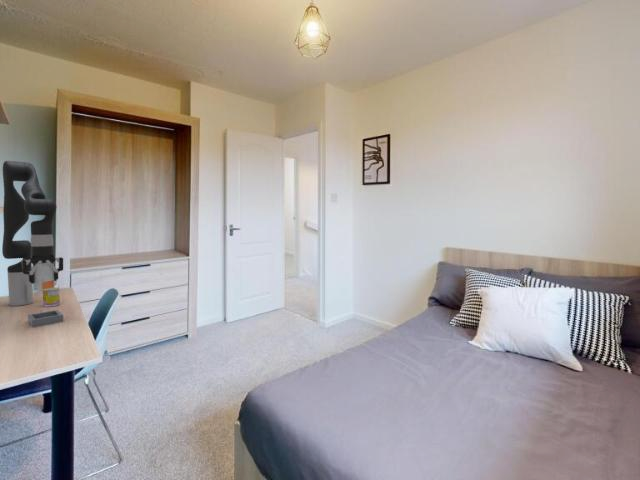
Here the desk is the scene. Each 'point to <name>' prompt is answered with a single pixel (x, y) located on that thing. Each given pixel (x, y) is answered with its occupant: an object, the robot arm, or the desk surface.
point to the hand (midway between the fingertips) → (43, 281)
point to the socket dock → (45, 318)
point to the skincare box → (43, 277)
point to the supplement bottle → (51, 296)
